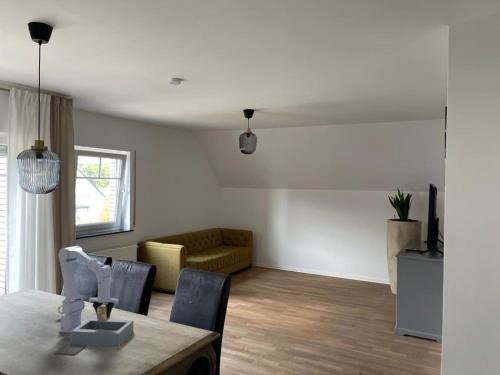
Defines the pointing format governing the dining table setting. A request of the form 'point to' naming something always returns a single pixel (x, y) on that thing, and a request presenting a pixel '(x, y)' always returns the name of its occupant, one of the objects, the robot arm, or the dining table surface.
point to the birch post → (102, 314)
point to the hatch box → (102, 332)
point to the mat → (70, 349)
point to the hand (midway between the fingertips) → (103, 317)
